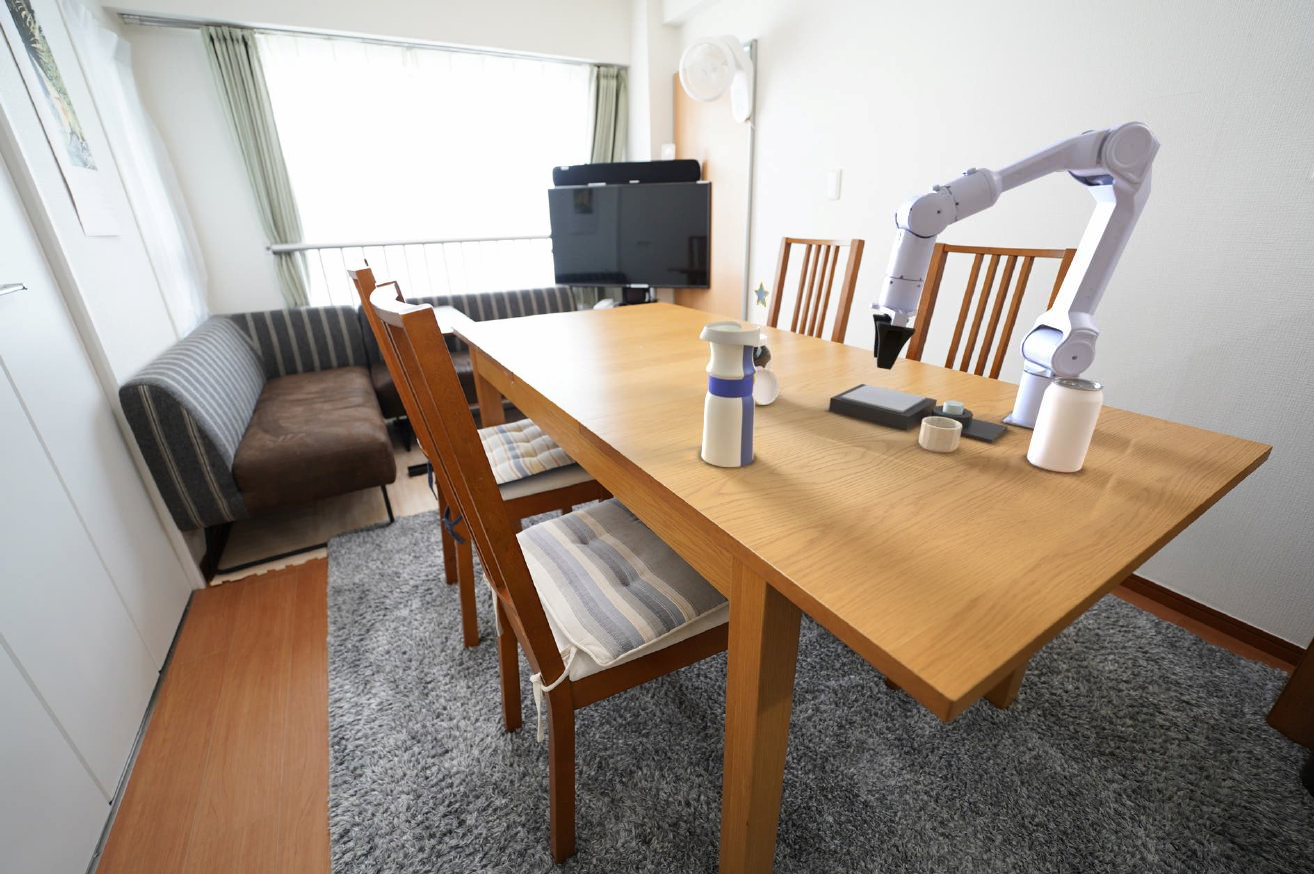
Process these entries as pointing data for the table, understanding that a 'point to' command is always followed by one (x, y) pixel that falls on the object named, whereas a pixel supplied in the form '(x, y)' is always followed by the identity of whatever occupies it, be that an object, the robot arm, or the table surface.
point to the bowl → (940, 434)
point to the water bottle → (730, 392)
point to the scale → (883, 406)
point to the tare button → (953, 407)
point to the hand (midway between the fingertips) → (881, 363)
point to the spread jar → (764, 375)
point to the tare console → (973, 425)
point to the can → (1065, 424)
